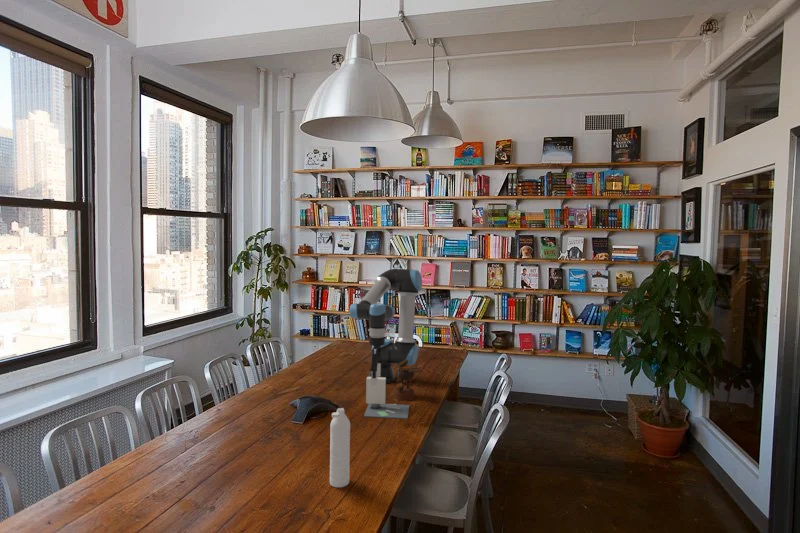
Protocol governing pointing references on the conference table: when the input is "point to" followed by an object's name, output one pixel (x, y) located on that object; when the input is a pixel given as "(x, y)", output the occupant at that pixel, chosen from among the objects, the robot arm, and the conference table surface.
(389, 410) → the dial board
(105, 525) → the conference table surface
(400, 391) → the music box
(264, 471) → the conference table surface
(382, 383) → the white flat block
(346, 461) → the water bottle
